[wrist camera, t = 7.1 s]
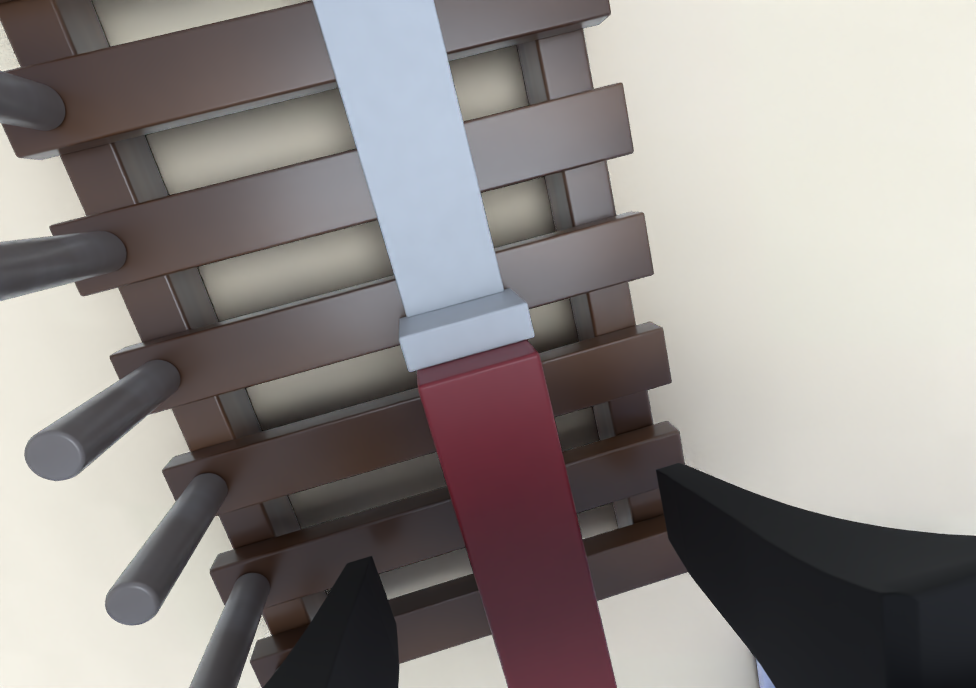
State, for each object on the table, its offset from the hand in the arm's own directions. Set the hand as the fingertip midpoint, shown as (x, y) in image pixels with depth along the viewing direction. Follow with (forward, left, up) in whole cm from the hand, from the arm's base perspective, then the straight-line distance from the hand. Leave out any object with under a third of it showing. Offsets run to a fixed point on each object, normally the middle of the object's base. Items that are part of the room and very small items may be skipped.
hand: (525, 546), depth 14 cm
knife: (+7, 0, -2) cm, 7 cm away
